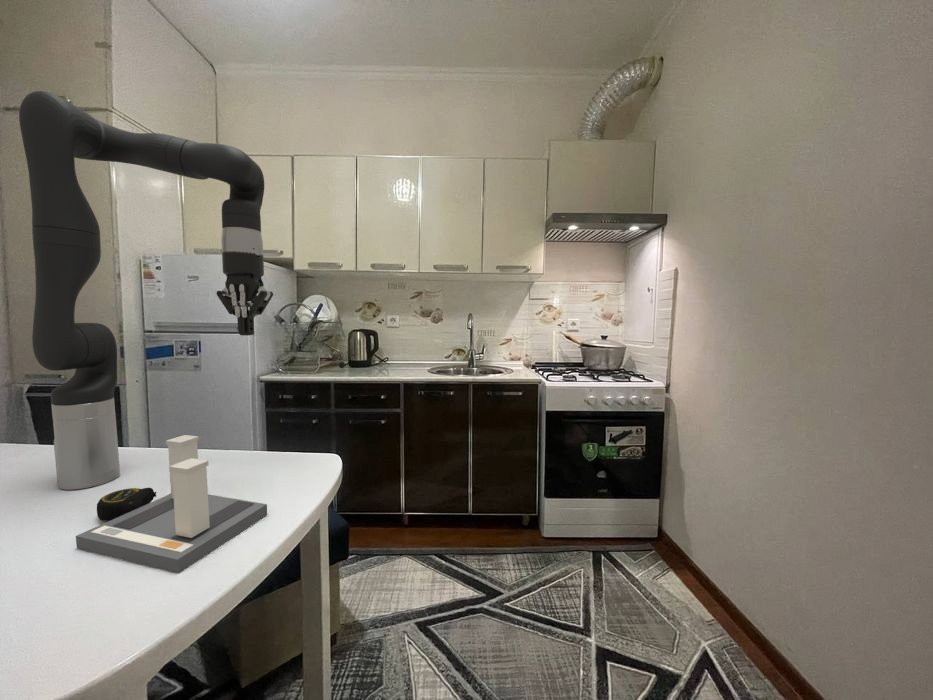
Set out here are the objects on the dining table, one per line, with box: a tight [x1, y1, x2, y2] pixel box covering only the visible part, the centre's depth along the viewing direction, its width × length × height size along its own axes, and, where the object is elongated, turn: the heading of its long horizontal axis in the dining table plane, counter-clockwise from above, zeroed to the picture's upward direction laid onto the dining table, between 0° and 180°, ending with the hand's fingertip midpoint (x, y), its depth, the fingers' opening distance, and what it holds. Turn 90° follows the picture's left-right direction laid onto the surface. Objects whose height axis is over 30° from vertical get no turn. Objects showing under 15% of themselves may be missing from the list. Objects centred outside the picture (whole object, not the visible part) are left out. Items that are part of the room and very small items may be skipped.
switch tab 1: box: [165, 434, 200, 499], centre depth 70 cm, size 3×3×11 cm
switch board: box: [75, 493, 268, 574], centre depth 63 cm, size 20×16×2 cm
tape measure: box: [96, 487, 157, 522], centre depth 68 cm, size 7×7×4 cm
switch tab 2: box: [168, 458, 210, 538], centre depth 58 cm, size 3×3×11 cm
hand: (246, 335), depth 82 cm, fingers closed
